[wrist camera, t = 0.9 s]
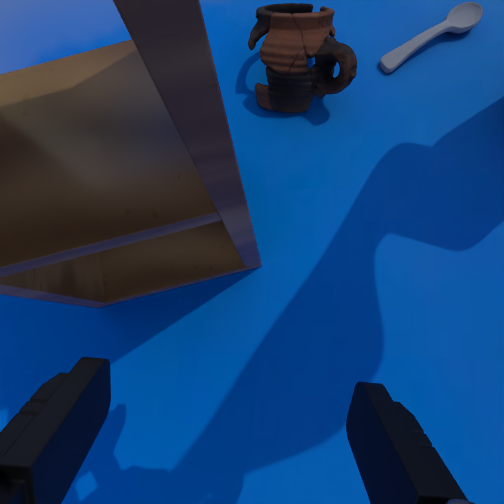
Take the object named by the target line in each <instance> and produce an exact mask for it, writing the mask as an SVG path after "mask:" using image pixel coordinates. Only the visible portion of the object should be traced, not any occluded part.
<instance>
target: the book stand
mask: <svg viewBox="0 0 504 504" xmlns="http://www.w3.org/2000/svg"><path fill="white" fill-rule="evenodd" d="M113 2H114V3H115V6H116V7H117V10H118V11H119V14H120V16H121V18H122V20H123V22H124V24H125V26H126V28H127V30H128V32H129V34H130V36H131V38H132V40H128V41H124V42H120V43H117V44H113V45H109V46H105V47H102V48H98V49H94V50H90V51H87V52H83V53H79V54H75V55H72V56H68V57H64V58H61V59H57V60H53V61H49V62H46V63H42V64H38V65H34V66H31V67H27V68H23V69H19V70H16V71H12V72H8V73H4V74H1V75H0V294H2V295H9V296H16V297H23V298H30V299H37V300H44V301H52V302H59V303H66V304H73V305H80V306H87V307H95V308H99V307H103V306H107V305H111V304H115V303H119V302H123V301H127V300H131V299H135V298H139V297H143V296H147V295H150V294H154V293H158V292H162V291H166V290H170V289H174V288H178V287H182V286H186V285H190V284H194V283H198V282H202V281H206V280H210V279H213V278H217V277H221V276H225V275H229V274H233V273H237V272H241V271H245V270H249V269H253V268H257V267H261V266H262V264H261V260H260V256H259V252H258V248H257V243H256V239H255V235H254V231H253V226H252V222H251V218H250V214H249V209H248V205H247V201H246V197H245V193H244V188H243V184H242V180H241V176H240V171H239V167H238V163H237V159H236V155H235V150H234V146H233V142H232V138H231V133H230V129H229V125H228V121H227V116H226V112H225V108H224V104H223V100H222V95H221V91H220V87H219V83H218V78H217V74H216V70H215V66H214V61H213V57H212V53H211V49H210V45H209V40H208V36H207V32H206V28H205V23H204V19H203V15H202V11H201V7H200V2H199V0H113Z"/></svg>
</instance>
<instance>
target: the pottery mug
mask: <svg viewBox="0 0 504 504" xmlns="http://www.w3.org/2000/svg"><path fill="white" fill-rule="evenodd" d="M312 10H313V5H312V4H302V3H300V4H295V3H285V4H272V5H267V6H263V7H259V8H258V9H257V10H256V18H257V20H258V21H257V23H256V25H255V26H254V27H253V29H252V31H251V33H250V39H249V41H248V46H249V48H250V50H253V49H254V47H255V45H256V42H257V41H258V40H259V39H260V38H261V37H262V36H264V35H265V34H267V33H268V34H267V35H266V37H265V40H264V41H263V44H262V47H261V49H260V57H261V61H262V62H263V63H264V64H265V65H266V66H267V67H266V74H267V80H268V84H269V85H263V84H260V83H257V84H256V85H255V92H256V97H257V102H258V105H260V106H261V107H263V108H266V109H270V110H273V111H280V112H282V113H285V112H287V113H297V112H303V111H307V110H308V109H309V106H310V102H311V101H312V97H313V96H314V94H315V95H316V96H317V97H318V98H322V97H323V96H325V95H326V94H336V93H339V92H341V91H342V90H343V89H345V88H346V87H347V86H348V85H349V84H350V83H351V81H352V80H353V78H355V77H356V69H357V59H356V55H355V53H354V51H353V50H352V49H351V48H350V47H349V46H348V45H346V44H343V43H339V42H337V41H336V39H335V38H334V36H335V28H334V27H333V25H332V21H333V16H334V10H333V9H330V8H327V7H324V6H322V7H321V8H320V12H312ZM329 35H330V36H331V37H329ZM313 57H315V62H316V63H315V64H314V65H313V67H312V68H311V69H309V67H308V62H307V58H313ZM336 62H338V63H339V66H340V72H339V75H338V76H337V77H336V78H334V77H333V74H334V67H335V65H336Z"/></svg>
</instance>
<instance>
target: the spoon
mask: <svg viewBox="0 0 504 504" xmlns="http://www.w3.org/2000/svg"><path fill="white" fill-rule="evenodd" d="M482 14H483V9H482V7H481V6H480V5H479V4H477V3H474V2H467V3H463V4H460V5H458V6H456V7H454V8H453V9H452V10H451V11H450V12H449V13H448V15H447V16H446V18H445V21H443V22H442V23H440V24H438V25H436V26H434V27H432V28H430V29H428V30H426V31H424V32H422V33H421V34H419V35H417V36H416V37H414V38H413V39H411V40H409V41H408V42H406V43H405V44H403V45H401V46H400V47H398V48H396V49H394V50H392V51H391V52H389V53H387V54H385V55H384V56H383V57H382V58H381V60H380V67H381V69H382V70H383V71H384V72H386V73H390V72H392V71H394V70H395V69H396V68H397V67H398V66H399V65H400V64H402V63H403V62H404V61H405V60H406V59H407V58H408V57H409V56H411V55H412V54H413V53H414V52H415V51H417V50H418V49H419V48H421V47H422V46H423V45H425V44H426V43H427V42H429V41H430V40H432V39H433V38H435V37H437V36H438V35H440V34H442V33H444V32H452V33H456V34H458V33H463V32H466V31H468V30H470V29H472V28H473V27H474V26H475V25H476V24H477V23H478V22H479V21H480V19H481V17H482Z"/></svg>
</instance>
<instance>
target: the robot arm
mask: <svg viewBox="0 0 504 504" xmlns="http://www.w3.org/2000/svg"><path fill="white" fill-rule="evenodd" d="M110 401H111V384H110V362H109V360H108V359H101V358H90V357H83V358H81V359H80V360H79V361H78V362H77V364H76V365H75V366H74V367H73V369H72V370H71V371H70V372H69V373H59V374H58V375H56V376H55V377H53V378H52V379H50V380H48V381H47V382H45V383H44V384H43V385H42V386H41V387H40V388H39V389H38V390H37V391H36V393H35V394H34V395H33V396H32V397H31V398H30V401H28V402H27V403H26V404H25V405H24V406H23V407H22V408H21V410H20V412H19V414H16V415H15V416H14V418H13V419H12V420H11V421H10V422H9V423H8V424H7V425H6V427H5V428H4V429H3V430H2V431H1V432H0V504H61V503H62V501H63V499H64V497H65V495H66V493H67V491H68V490H69V488H70V486H71V484H72V482H73V480H74V478H75V476H76V474H77V473H78V471H79V469H80V467H81V465H82V463H83V461H84V459H85V457H86V456H87V454H88V452H89V450H90V448H91V446H92V444H93V442H94V440H95V438H96V437H97V435H98V433H99V431H100V429H101V427H102V425H103V423H104V421H105V419H106V417H107V414H108V411H109V407H110ZM346 431H347V437H348V441H349V444H350V446H351V449H352V452H353V455H354V458H355V460H356V463H357V466H358V469H359V472H360V475H361V477H362V480H363V483H364V486H365V489H366V491H367V494H368V497H369V500H370V503H371V504H475V503H472V502H470V501H468V500H467V498H466V497H465V495H464V493H463V492H462V490H461V489H460V487H459V486H458V484H457V482H456V481H455V479H454V478H453V476H452V475H451V473H450V471H449V470H448V468H447V467H446V465H445V464H444V462H443V460H442V459H441V457H440V456H439V454H438V453H437V451H436V450H435V448H434V447H432V443H431V442H430V440H429V439H428V437H427V435H426V434H424V431H423V429H422V428H421V426H420V424H419V423H418V421H417V420H416V418H415V417H414V415H413V414H412V413H410V412H409V411H408V410H407V409H406V408H405V407H404V406H403V405H402V404H401V403H400V402H393V400H392V398H391V397H390V395H389V393H388V391H387V390H386V388H385V387H384V385H382V384H379V383H367V382H358V383H357V384H356V386H355V389H354V393H353V397H352V400H351V404H350V408H349V412H348V416H347V421H346Z"/></svg>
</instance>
